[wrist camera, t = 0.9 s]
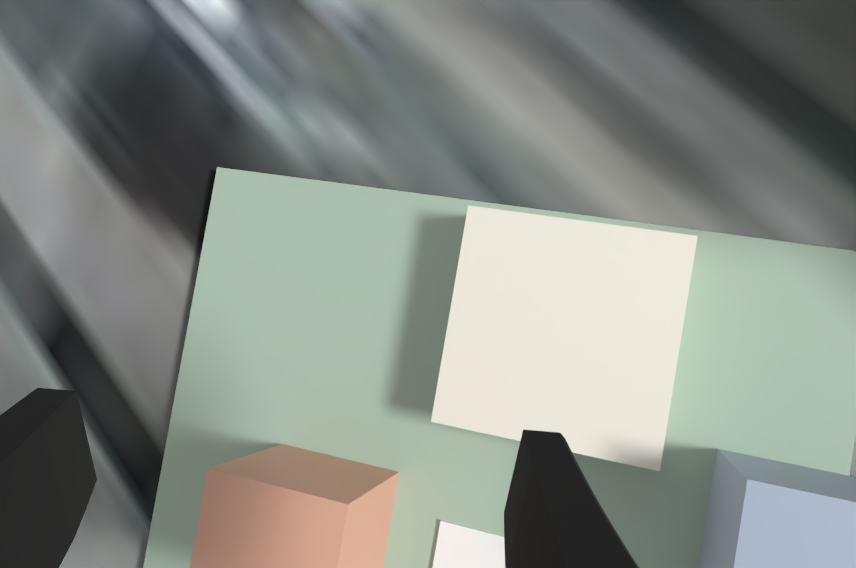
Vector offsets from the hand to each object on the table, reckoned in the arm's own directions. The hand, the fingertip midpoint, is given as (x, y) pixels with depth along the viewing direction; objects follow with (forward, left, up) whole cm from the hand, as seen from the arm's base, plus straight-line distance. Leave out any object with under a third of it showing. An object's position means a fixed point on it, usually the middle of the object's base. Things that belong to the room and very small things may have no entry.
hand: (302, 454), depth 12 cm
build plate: (-1, -1, -14) cm, 14 cm away
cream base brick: (+3, -3, -13) cm, 14 cm away
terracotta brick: (-5, +4, -13) cm, 15 cm away
